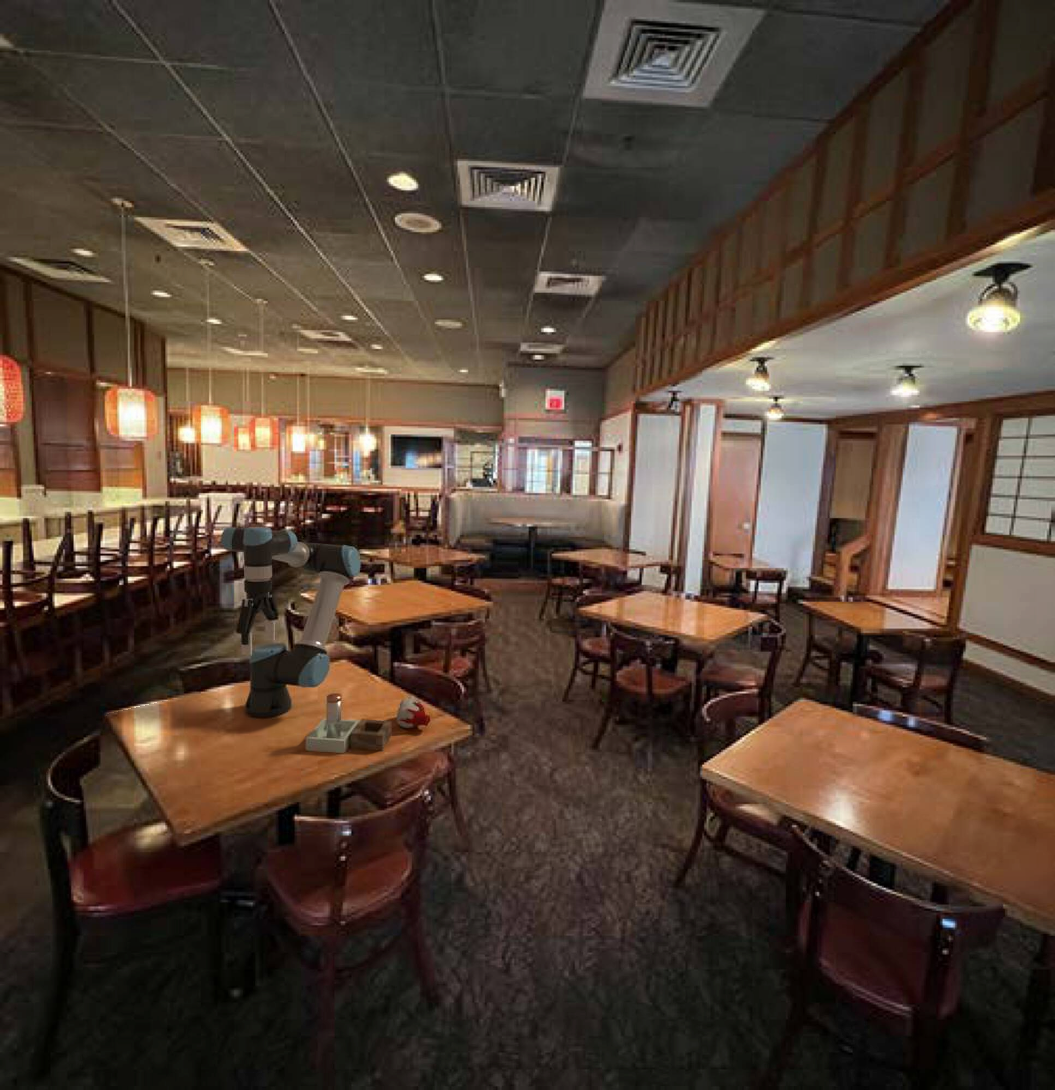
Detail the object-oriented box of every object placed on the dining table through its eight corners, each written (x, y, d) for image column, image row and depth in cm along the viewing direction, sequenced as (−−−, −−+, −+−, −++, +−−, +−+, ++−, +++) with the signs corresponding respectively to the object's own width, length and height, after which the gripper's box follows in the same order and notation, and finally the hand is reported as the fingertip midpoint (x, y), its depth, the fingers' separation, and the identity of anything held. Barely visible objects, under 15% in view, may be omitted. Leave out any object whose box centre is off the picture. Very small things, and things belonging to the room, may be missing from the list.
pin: (329, 733, 179) (330, 692, 178) (342, 735, 179) (343, 693, 177) (324, 740, 175) (324, 698, 173) (337, 741, 175) (338, 699, 173)
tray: (324, 729, 184) (324, 718, 184) (359, 731, 184) (359, 720, 183) (305, 750, 170) (305, 738, 170) (344, 753, 170) (344, 740, 169)
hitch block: (361, 733, 183) (361, 719, 182) (391, 735, 182) (391, 721, 182) (350, 748, 173) (350, 733, 172) (382, 750, 173) (382, 735, 172)
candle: (403, 712, 198) (438, 727, 193) (383, 724, 188) (418, 740, 182) (407, 689, 197) (441, 704, 191) (386, 700, 187) (422, 716, 181)
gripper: (266, 570, 177) (267, 634, 180) (221, 586, 152) (222, 660, 155) (289, 572, 177) (290, 635, 180) (248, 588, 152) (249, 662, 155)
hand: (258, 647), depth 168 cm, fingers open, 13 cm apart
